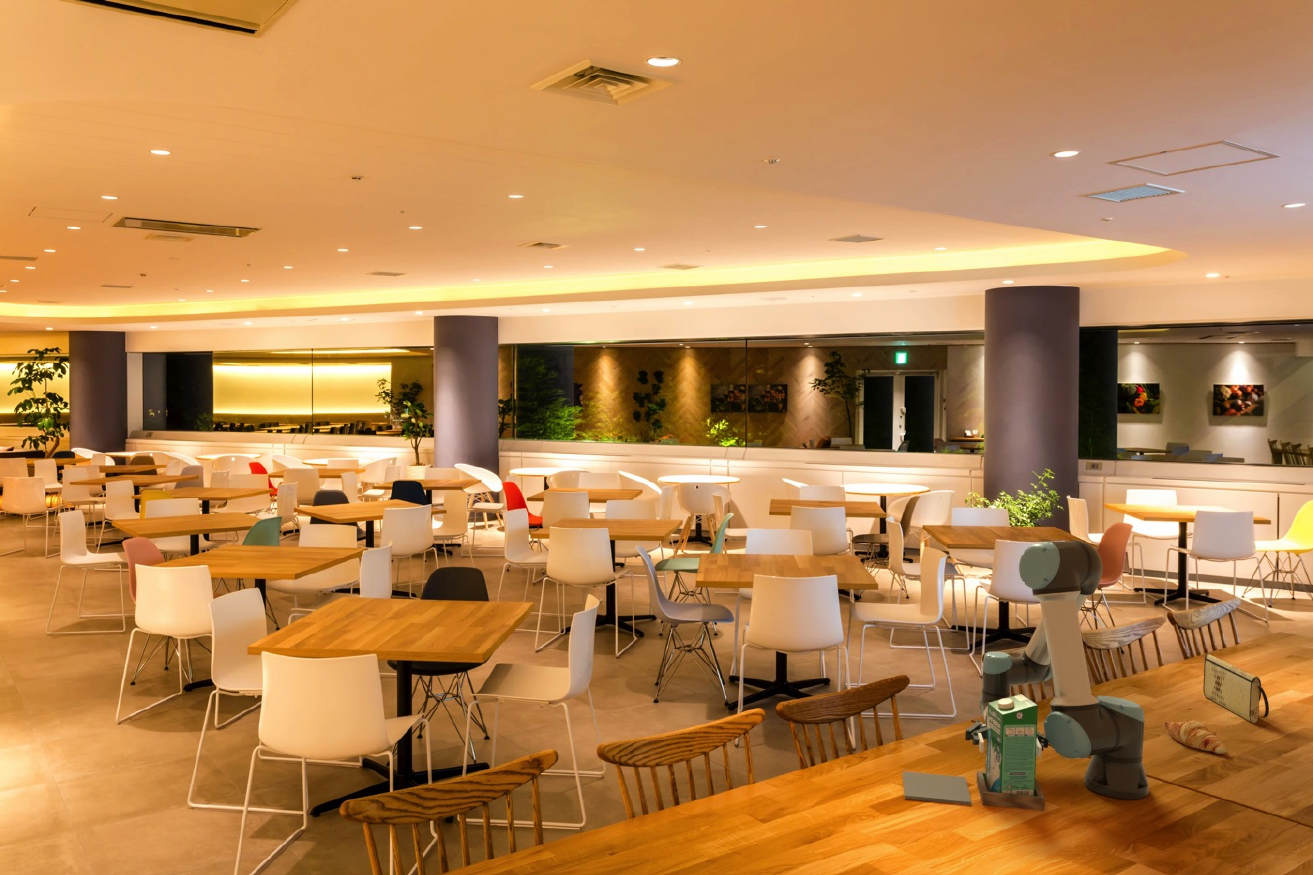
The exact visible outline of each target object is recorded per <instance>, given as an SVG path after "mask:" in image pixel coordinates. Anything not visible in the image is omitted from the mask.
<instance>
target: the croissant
mask: <svg viewBox="0 0 1313 875" xmlns="http://www.w3.org/2000/svg"><path fill="white" fill-rule="evenodd" d="M1164 727H1165V729H1166V730H1167V732H1168V733H1167V734H1168V735H1170V737H1171V738H1172V739H1174V740H1175V741H1176V742H1178V743H1180V744H1183V745H1184V746H1186V747H1190V748H1192V749H1198V750H1202V751H1206V752H1212V753H1214V754H1216V755H1217V754H1219V755H1222V754H1223V755H1224V754H1226V753H1227V748H1226V746H1225V743H1224V742H1223V741H1222V740H1221V739H1220V737H1219V736H1218V735H1217V733H1216V732H1214V731H1211V730H1209V728H1208V727H1207V725H1206V724H1204V723H1201V722H1199V721H1197V720H1193V719H1192V718H1190V719H1188V720H1181V721H1179V722H1177V721H1171V722H1170V721H1165V722H1164Z"/></svg>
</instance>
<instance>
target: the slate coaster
mask: <svg viewBox="0 0 1313 875" xmlns="http://www.w3.org/2000/svg"><path fill="white" fill-rule="evenodd" d="M966 779H967V778H966V776H959V775H958V776H957V775H949V774H948V775H947V774H937V773H928V772H927V773H925V772H917V771H904V770H902V781H903V782H902V783H903V791H904V792H903V793H904V799H906V800H914V801H915V800H916V801H926V802H934V801H935V803H936V802H937V803H944V802H950V803H949V804H955V803H958V805H965V804H966V805H967V806H972V799H971V798H972V797H971V794H970V791H969V787H968V782H967V780H966ZM959 803H960V804H959ZM966 805H965V806H966Z"/></svg>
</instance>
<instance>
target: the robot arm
mask: <svg viewBox="0 0 1313 875" xmlns="http://www.w3.org/2000/svg"><path fill="white" fill-rule="evenodd" d="M1103 568H1104V566H1103V560H1102V558H1101V555H1100V553H1099V552H1098V550H1097V549H1096V548H1095V547H1094V546H1093V545H1091V544H1089V543H1088V542H1086V541H1082V540H1078V539H1073V540H1072V539H1071V540H1063V541H1062V540H1061V541H1059V540H1058V541H1044V542H1039V543H1034V544H1031V545H1030V546H1028V547H1026V548H1025V550H1024V552H1023V553H1022V554H1021V556H1020V558H1019V564H1018V573H1019V576H1020V579H1021V580H1022V582H1024V585H1025V586H1026V587H1027V588H1030V589H1031V592H1032V596H1033V598H1034V599H1036V600H1037V601H1038V602H1040V603H1039V604H1040V607H1041V609H1040V610H1041V616H1042V617H1041V619H1040V621H1039V623H1038V625H1037V627H1036V628H1035V630H1034V632H1033V634H1032V636H1031V638H1030V640H1029V642H1028V645H1026V648H1025V650H1024V651H1023V653H1022V655H1021V656H1018V657H1012V656H1011V655H1010V654H1009V653H1007V652H1003V651H988V652H986V653H985V654H984V655H983V656H984V657H983V662H982V687H981V696H980V698H979V709H980V712H981V714H982V717H983V720H984V723H983V722H981V721H980V720H978V719H977V720H975V723H973V724H972V725H970V726H969V727H968V728H967V729H965V733H964V734H965V736H964V739H965V741H969V742H970V741H971V740H972V745H974V746H978V749H979V752H980V753H981V754H983V753H985V752H984V749H985V742H984V741H985V740H987V712H988V703H990V702H993V701H997V700H1000V699H1003V698H1008V697H1011V689H1012V687H1014V686H1021V685H1027V684H1028V685H1029V684H1034V683H1035V684H1037V683H1042V682H1045V681H1046V682H1047V681H1049V680H1050V679H1052V683H1053V689H1054V691H1053V692H1054V698H1052V700H1051V701H1050V704H1049V705H1050V713H1049V714H1048V715H1047V716H1046V717H1045V720H1044V722H1043V733H1044V734H1043V733H1040V732H1039V731H1037V744H1036V758H1038V759H1042V752H1044V749H1047V748H1049V746H1050V747H1051V748H1052V749H1054V751H1055V752H1056V753H1057V754H1058V755H1060V756H1061V757H1063V758H1066V759H1071V760H1072V759H1073V760H1074V759H1086V758H1088V757H1091V758H1090V761H1089V763H1088V766H1087V768H1086V770H1085V773H1084V785H1085V786H1086V787H1087V788H1088V789H1089V790H1091V791H1092V792H1095V793H1097V794H1099V795H1102V796H1105V797H1109V798H1114V799H1119V800H1141V799H1144V798H1147V797H1148V795H1149V789H1150V784H1149V780H1148V776H1147V774H1146V770H1145V768H1144V764H1143V753H1144V752H1143V751H1144V750H1143V749H1144V734H1145V732H1144V731H1145V723H1146V721H1145V711H1144V709H1143V707H1142V706H1141V705H1140V704H1138V703H1137V702H1134V701H1131V700H1129V699H1125V698H1121V697H1116V696H1109V695H1098V696H1093V695H1092V691H1091V685H1090V679H1089V674H1088V667H1087V660H1086V655H1085V649H1084V643H1083V642H1084V641H1083V637H1082V631H1081V630H1082V629H1081V625H1080V618H1079V613H1080V611H1081V608H1082V607H1083V605H1084V603H1085V602H1086V600H1087V598H1088V597H1090V596H1093V595H1094V594H1095V592H1096V590H1097V589H1098V588H1099V587H1098V586H1099V585H1100V582H1101V579H1102V576H1103V571H1104V570H1103Z"/></svg>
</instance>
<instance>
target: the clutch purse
mask: <svg viewBox="0 0 1313 875" xmlns="http://www.w3.org/2000/svg"><path fill="white" fill-rule="evenodd" d="M1203 666H1204V667H1203V685H1202V686H1203V687H1202V688H1203V689H1202V690H1203V694H1204V697H1205V698H1207V699H1209V700H1211V701H1212V702H1214V703H1216V704H1218V705H1220V706H1222V708H1223V707H1224V708H1225V709H1227V710H1229V711H1230V712H1232V713H1234V714H1235V715H1238V716H1239V717H1242V718H1243V719H1245V720H1247V721H1248V722H1250V723H1251V724H1256V723H1257V722H1258V719H1259V718H1262V719H1263V718H1264V719H1266V718H1268V716H1269V713H1270V712H1269V711H1270V706H1269V705H1270V704H1269V700H1268V697H1267V694H1266V691H1265V690H1264V688H1263V687H1262V681H1261V679H1260V677H1258V676H1256V675H1253V674H1252V673H1249V672H1247V671H1245V670H1244V669H1241V668H1238V666H1235V665H1233V664H1231V663H1229V662H1226V661H1224V660H1222V659H1221V658H1219V657H1216V656H1214V655H1212V654H1210V653H1207V654H1205V656H1204V665H1203ZM1262 697H1263V701H1264V708H1265V710H1264V711H1265V712H1264V714H1263V716H1259V714H1260V700H1261V698H1262Z"/></svg>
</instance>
